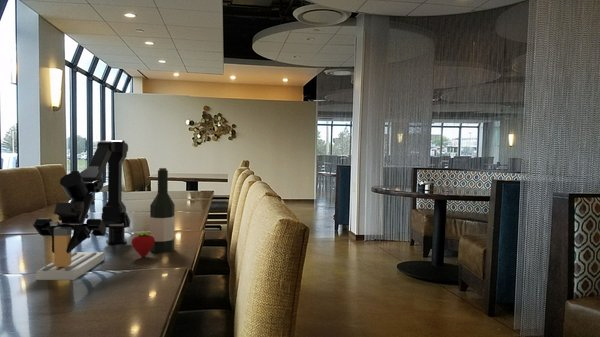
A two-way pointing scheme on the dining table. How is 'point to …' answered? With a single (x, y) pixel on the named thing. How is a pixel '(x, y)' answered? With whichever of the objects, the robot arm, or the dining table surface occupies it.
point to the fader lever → (62, 246)
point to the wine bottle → (162, 216)
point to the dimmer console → (71, 267)
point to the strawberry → (143, 243)
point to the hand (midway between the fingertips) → (60, 252)
